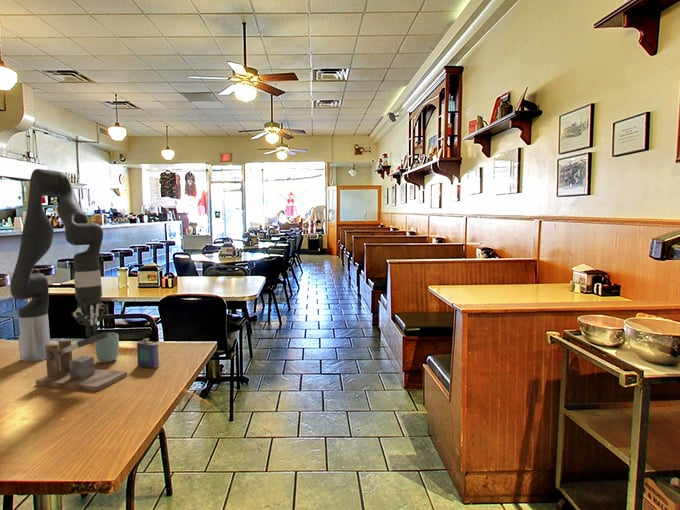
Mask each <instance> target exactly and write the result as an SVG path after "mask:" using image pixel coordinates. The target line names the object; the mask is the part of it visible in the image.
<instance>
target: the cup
mask: <svg viewBox="0 0 680 510" xmlns="http://www.w3.org/2000/svg"><path fill="white" fill-rule="evenodd" d="M106 333H107V336H108V337H107V338H104V339H101V340H99V341H96V342H94V348H95V356H96V360H97V361H98V362H100V363H105V364H106V363H112V362H114V361H115V360H117V359H118V357H119V352H120V341H119V339H120V338H119V334H118V332H117V333H116V332H106Z"/></svg>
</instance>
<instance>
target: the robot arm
mask: <svg viewBox="0 0 680 510" xmlns="http://www.w3.org/2000/svg"><path fill="white" fill-rule="evenodd" d="M43 197H54V198H58V197H59V198H61V200H60V201H59V202H58V205H57V208H56V210H57V211H56V212H57V215H58V217H59V218H60V220H61V221H62V224H63V225H64V231H65V232H64V233H65V234H64V235H65V240H66V242H67V243H68V244H70V245H72V246H87V245H88V247H87V249H85V250H84V251H82V252H78V253H75V254H74V255H73V269H74V276H73V277H74V278H73V279H74V281H73V282H74V293H75V300H76V301H77V304H76V305H77V306H76V310H75V311H71V315H70V316H72V317H73V318H74V319H75V321H76V322H77V323H78V324H79V325H80V326H81V325H82V326H85V329H86V330H85V332H86V336H87V337H92V336H95V335H97V332H98V327H97V324H98V323H99V322H101V321H102V319H103V317H104V315H105V313H106V311H107V308H108V304H104V303H102V299H101V298H102V296H103V289H102V288H103V287H102V286H103V285H102V276H101V270H100V259H99V258H100V252H101V246H102V243H103V239H104V231H103V228H102V226H101V225H100V224H98V223H95V222H89V221H88V220H89V219H88V217H87V214H85V212H84V210H83V209H82V207H81V206H80V204H79V202H78V200H77V196H76V193H75V191H74V188H73V185H72V183H71V180H70V178H69V176H68V175H67V174H66V173H64V172H61V171H57V170H50V169H43V168H35V169H34V170H33V171H32V173H31V176H30V179H29V186H28V198H27V199H28V200H27V207H26V208H27V209H26V215H25V220H24V224H23V228H22V234H21V238H20V245H19V251H18V256H17V261H16V264H15V267H14V271H13V273H12V276H11V279H10V286H9V287H10V294H11V296H12V298H13V299H15V300H28V299H31V300H30V301H29V302H28V303H27V304H26V305H25V304H24V306H22V307H20V308H19V309H18V311H17V315H18V324H19V325H18V326H19V335H18V337H17V338H18V349H19V351H18V352H19V360H21V361H22V362H25V363H30V362H31V363H32V362H39V361H42V360H46V350H45V345H47V344H51V335H50V324H49V311H48V310H49V306H50V301H49V298H50V297H49V291H50V290H49V281H48V279H47V276H46V275H45V274H44V273H42V272H36V273H35V272H34V273H32V271H33V269H34V267H35V266H36V264H38V262H39V261H40V260H41V259H42V258H43V257H44V256H45V255H46V254H47V253H48V252H49V250H50V249H51V247H52V243H53V238H54V231H55V229H54V227H53V225H52V222H51V220H50V219H49V217H48V215H47V214H46V213H45V210H44V208H43V207H44V206H43V200H42V199H43Z"/></svg>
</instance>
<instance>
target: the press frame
mask: <svg viewBox="0 0 680 510" xmlns="http://www.w3.org/2000/svg"><path fill="white" fill-rule="evenodd" d="M57 343H58V344H53V343H52V344H51V343H50V344H47V345H45V350H46V359H45V360H46V362H45V363H46V372H47V375H46V376H43V377H41V378H39V379H37V380H35V384H36V386H41V385H42V387H50V386H52V387H53V388H62V389H70V390H72V389H73V390H79V391H89V390H91V392H100V391H101V389H102V390H103V389H106V388H107V387H109V386H111V385H113V384H114V383H116V382H119V381H120V380H122V379H124V378H125V377H127V376H128V371H123V370H111V369H110V370H109V369H99V368H95V359H94V356H86V355H85V356H84V355H81V356H77V357H75V358H73V350H72V351H69V352H66V353H64V354H61V355H59V350H61V349H64V348H66V347H69V346H72V341H71V340H70V339H69V340H68V339H67V340H66V339H59V340H58V341H57ZM52 387H51V388H52ZM99 390H100V391H99Z"/></svg>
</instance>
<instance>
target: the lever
mask: <svg viewBox="0 0 680 510" xmlns="http://www.w3.org/2000/svg"><path fill="white" fill-rule="evenodd" d="M107 333H108V332H107V331H104V332H100V333H98V334H97V333H96V335H95V336H92V337H91V336H88V337H86V338H84V339H81V340H79V341H76V343H75V344H71V346H69V347H66V348H64V349H61V350H59V355H61V354H64V353H66V352H69V351H72V352H73V351H74V350H77V349H79V348H83V347H85V346H88V345H91V344H93V343H95V342H96V341H99V340H101V339H104V338H107V337H108V336H107Z"/></svg>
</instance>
